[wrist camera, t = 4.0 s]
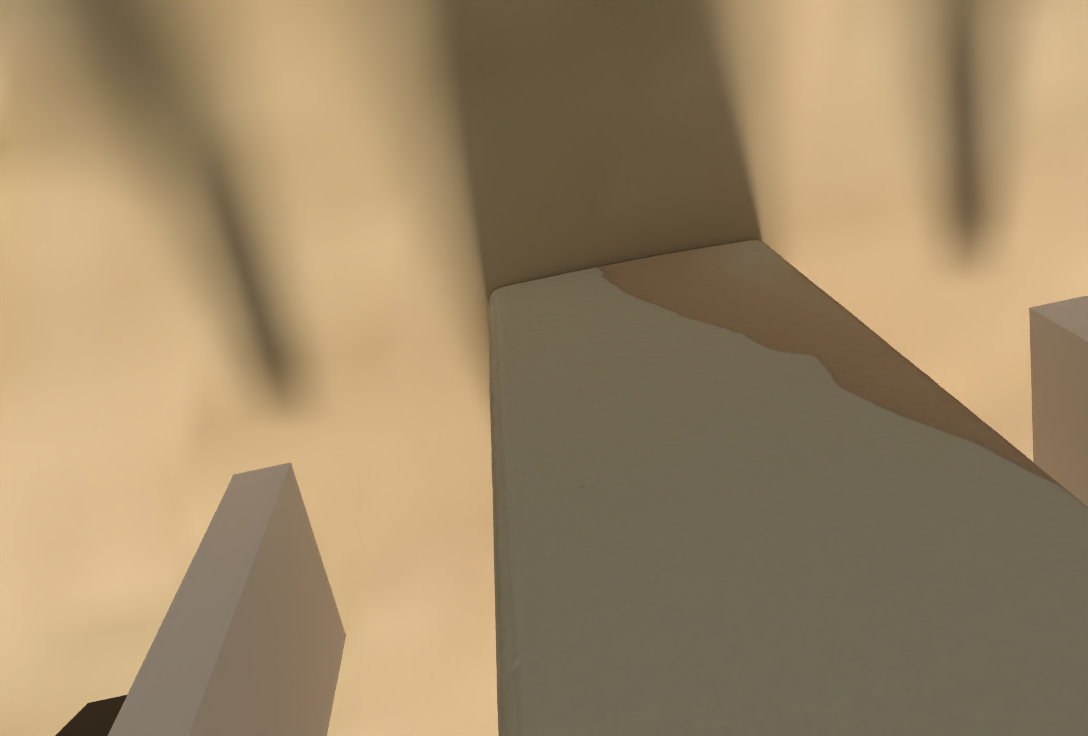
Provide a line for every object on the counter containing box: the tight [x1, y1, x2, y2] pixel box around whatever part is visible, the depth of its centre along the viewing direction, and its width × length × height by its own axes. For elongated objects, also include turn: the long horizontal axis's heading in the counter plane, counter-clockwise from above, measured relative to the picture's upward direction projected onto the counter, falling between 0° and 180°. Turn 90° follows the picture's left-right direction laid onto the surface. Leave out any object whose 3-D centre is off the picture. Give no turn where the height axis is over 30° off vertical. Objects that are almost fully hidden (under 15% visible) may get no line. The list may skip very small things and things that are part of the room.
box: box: [488, 240, 1088, 736], centre depth 11 cm, size 5×4×11 cm
